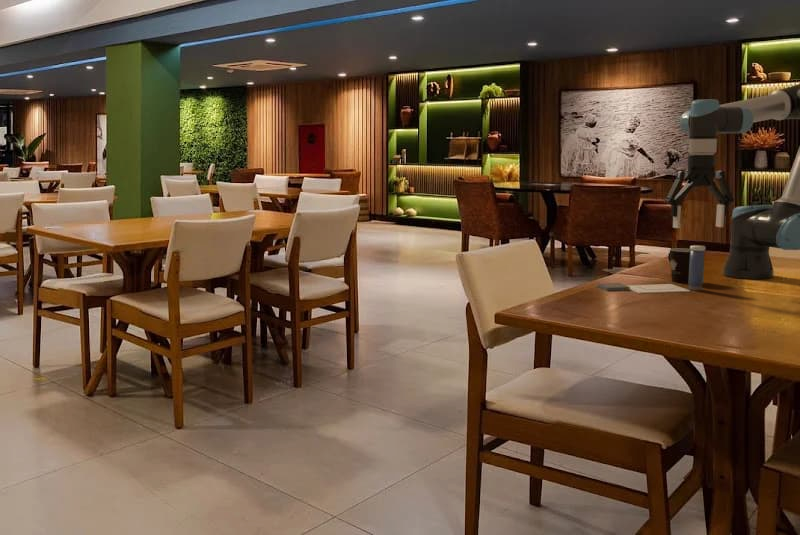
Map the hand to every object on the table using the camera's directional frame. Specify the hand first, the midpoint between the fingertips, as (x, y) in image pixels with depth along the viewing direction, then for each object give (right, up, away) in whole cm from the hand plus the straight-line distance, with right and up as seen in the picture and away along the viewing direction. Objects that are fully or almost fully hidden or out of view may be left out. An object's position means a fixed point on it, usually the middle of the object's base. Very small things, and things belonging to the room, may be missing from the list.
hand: (697, 227), depth 222 cm
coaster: (-23, -18, +5) cm, 30 cm away
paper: (-11, -18, +4) cm, 22 cm away
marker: (0, -18, +3) cm, 19 cm away
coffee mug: (+2, -16, +18) cm, 24 cm away
